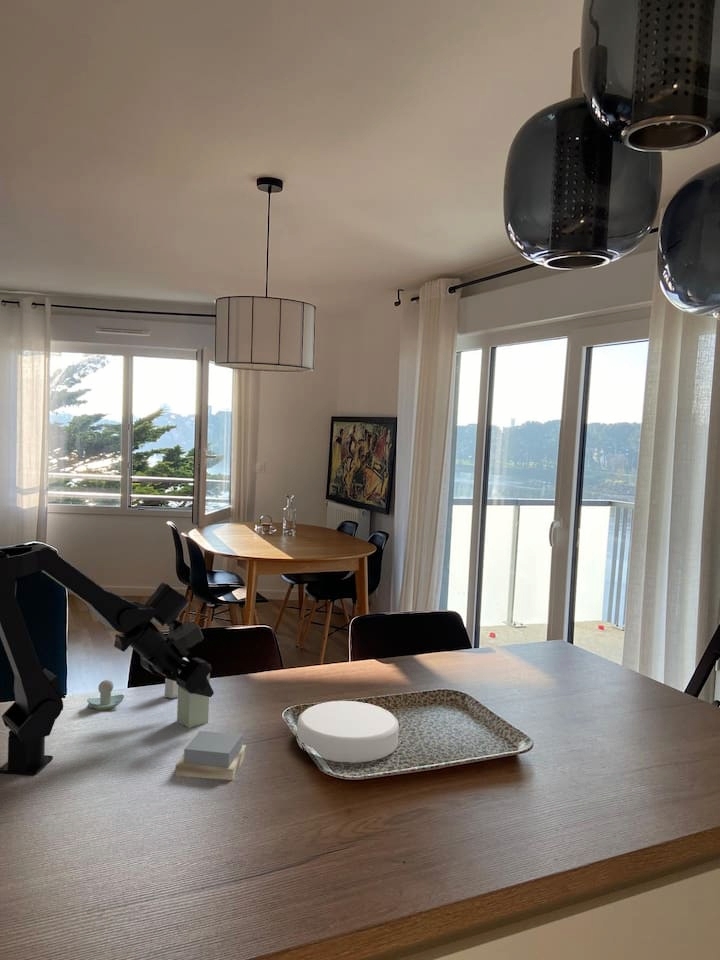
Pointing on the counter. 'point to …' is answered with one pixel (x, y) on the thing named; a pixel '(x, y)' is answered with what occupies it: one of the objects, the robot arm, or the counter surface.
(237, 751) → the tower middle
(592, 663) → the counter surface
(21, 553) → the robot arm
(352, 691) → the counter surface
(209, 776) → the tower base
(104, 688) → the pacifier
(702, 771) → the counter surface
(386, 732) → the container
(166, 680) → the eye dropper bottle
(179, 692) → the pillar block
